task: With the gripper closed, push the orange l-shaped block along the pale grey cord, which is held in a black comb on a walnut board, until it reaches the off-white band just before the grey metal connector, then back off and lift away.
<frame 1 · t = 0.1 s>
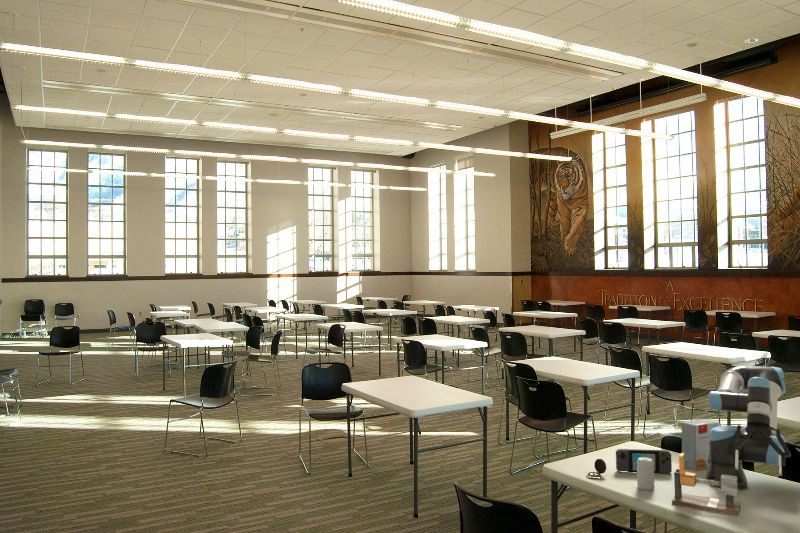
hand: (758, 471, 218), 15 cm above the table, tool tilted 35°, fingers open, 13 cm apart
beverage can: (646, 488, 246), on the table
compass: (597, 477, 261), on the table
orange l-shaped block: (687, 469, 230), point 13 cm above the table, slide at 0.0 cm
cord board: (705, 505, 226), on the table
hard drive box: (701, 466, 272), on the table
handheld gaming console: (643, 473, 265), on the table
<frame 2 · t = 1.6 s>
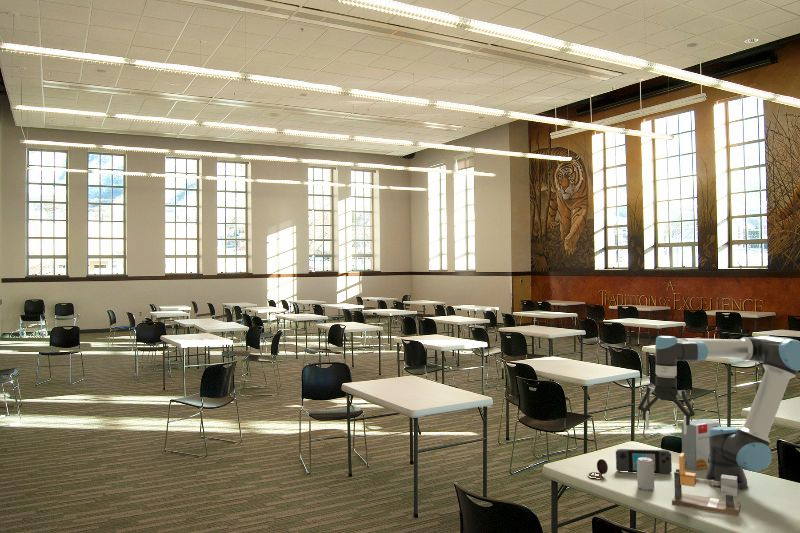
hand: (666, 431, 233), 27 cm above the table, tool pointing down, fingers open, 13 cm apart
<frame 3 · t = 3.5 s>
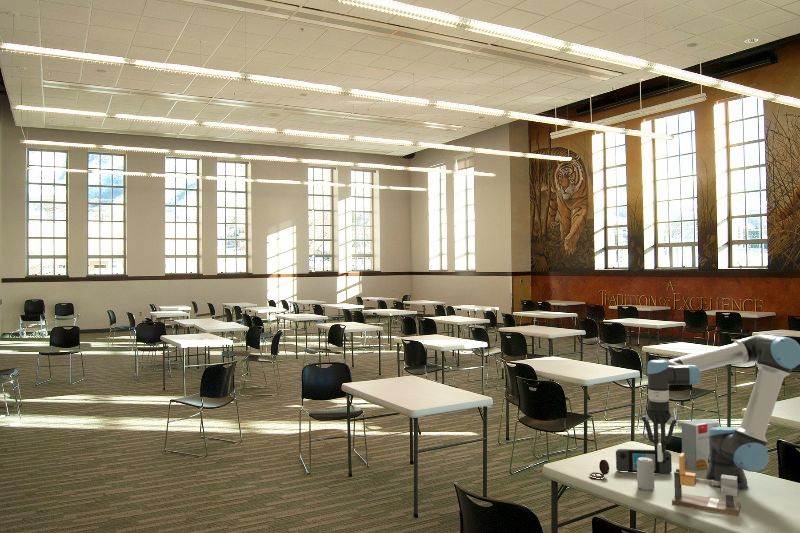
hand: (660, 460, 235), 15 cm above the table, tool pointing down, fingers closed
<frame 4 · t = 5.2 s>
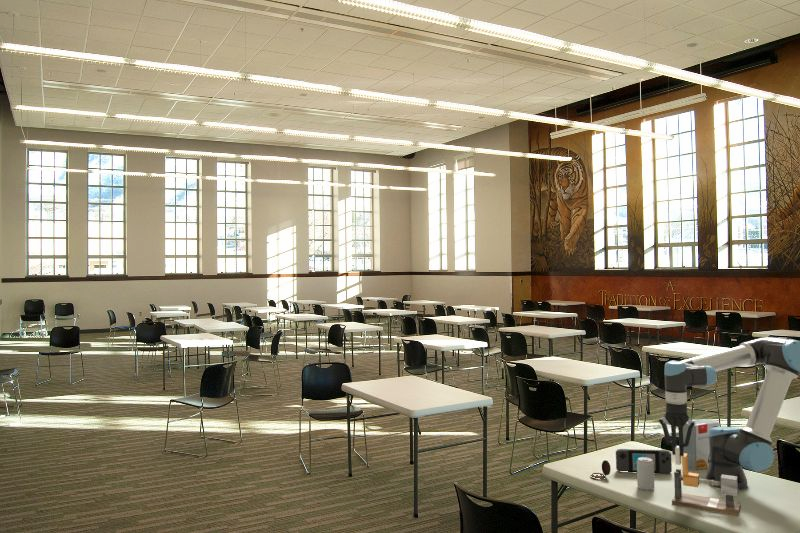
hand: (678, 463, 232), 14 cm above the table, tool pointing down, fingers closed
orange l-shaped block: (690, 470, 229), point 12 cm above the table, slide at 1.1 cm, touching gripper
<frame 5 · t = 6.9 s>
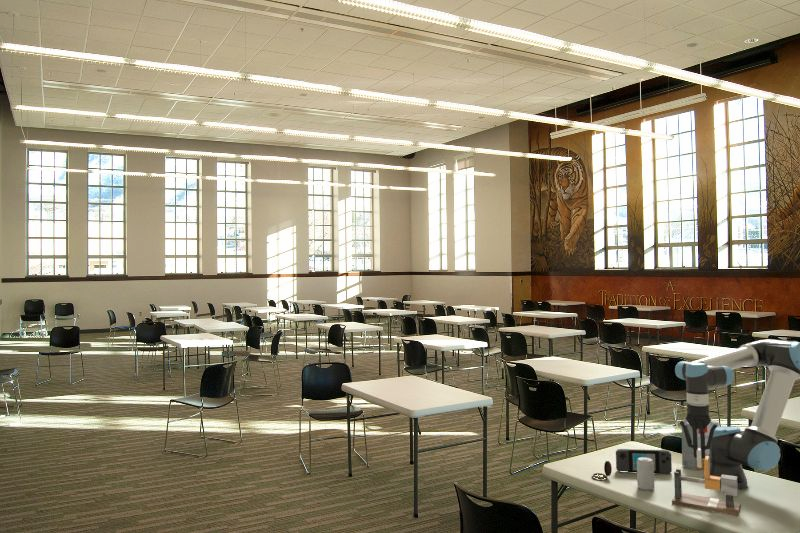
hand: (699, 466, 227), 14 cm above the table, tool pointing down, fingers closed
orange l-shaped block: (712, 473, 225), point 13 cm above the table, slide at 8.6 cm, touching gripper
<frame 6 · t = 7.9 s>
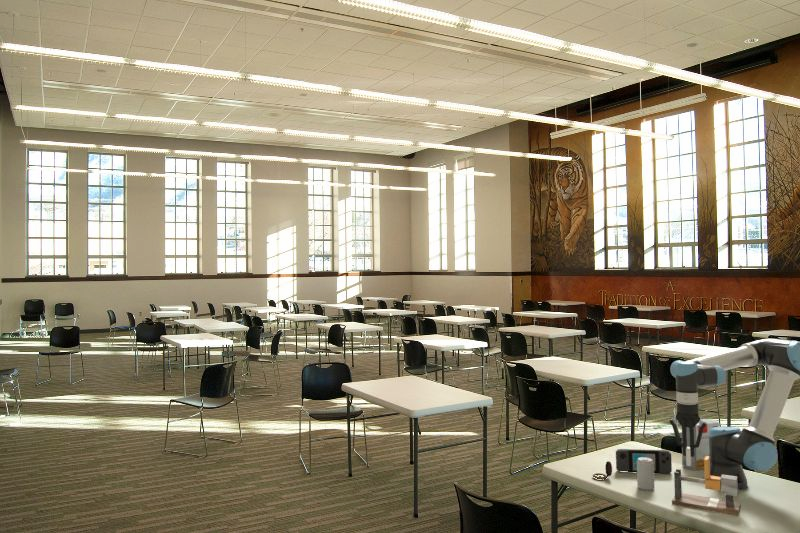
hand: (689, 464, 229), 15 cm above the table, tool pointing down, fingers closed
orange l-shaped block: (713, 473, 225), point 12 cm above the table, slide at 8.6 cm
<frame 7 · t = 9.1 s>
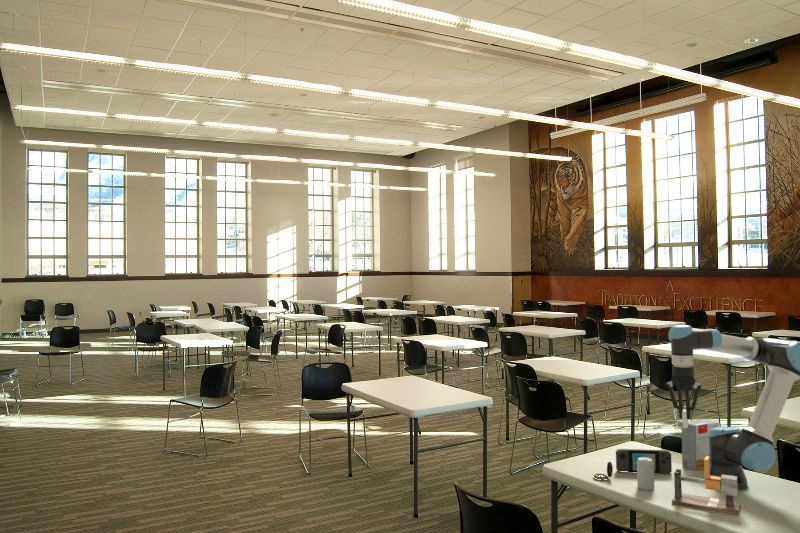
hand: (685, 427, 231), 28 cm above the table, tool pointing down, fingers closed
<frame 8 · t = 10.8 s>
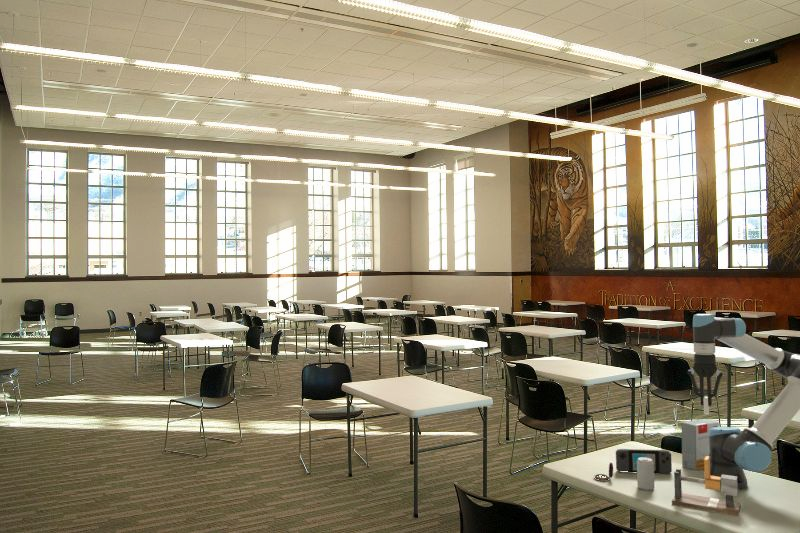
hand: (706, 413, 235), 32 cm above the table, tool pointing down, fingers closed
at the end: orange l-shaped block slide at 8.6 cm; beverage can moved 0.2 cm from its start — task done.
